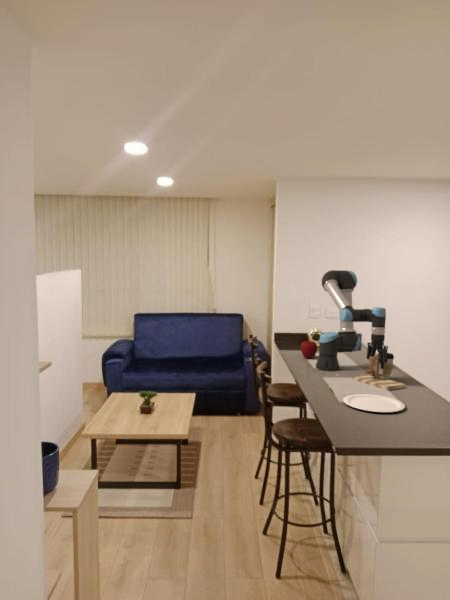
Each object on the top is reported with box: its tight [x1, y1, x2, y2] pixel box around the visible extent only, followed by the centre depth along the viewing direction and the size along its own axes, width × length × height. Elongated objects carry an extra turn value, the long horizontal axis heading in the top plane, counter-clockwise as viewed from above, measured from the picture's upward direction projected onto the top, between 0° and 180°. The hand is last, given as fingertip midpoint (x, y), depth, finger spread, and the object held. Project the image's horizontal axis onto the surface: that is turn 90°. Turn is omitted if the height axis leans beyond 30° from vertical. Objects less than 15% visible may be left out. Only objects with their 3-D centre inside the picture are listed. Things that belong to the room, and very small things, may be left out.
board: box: [352, 374, 406, 391], centre depth 276 cm, size 26×14×2 cm, turn 31°
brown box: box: [363, 355, 384, 377], centre depth 280 cm, size 6×12×11 cm, turn 121°
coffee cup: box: [376, 352, 395, 380], centre depth 289 cm, size 10×10×15 cm
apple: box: [300, 340, 318, 360], centre depth 343 cm, size 12×12×13 cm
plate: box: [342, 393, 406, 414], centre depth 235 cm, size 29×29×2 cm
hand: (376, 372), depth 281 cm, fingers closed on brown box, 6 cm apart
